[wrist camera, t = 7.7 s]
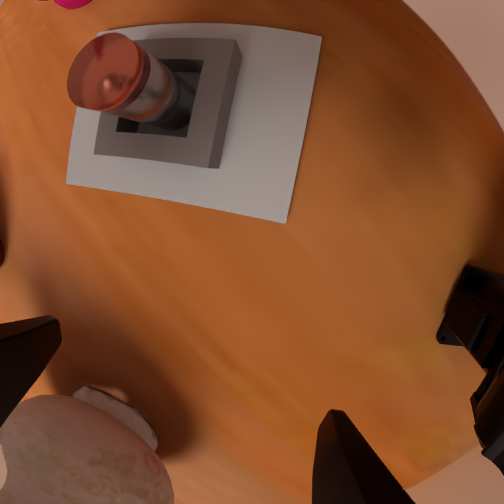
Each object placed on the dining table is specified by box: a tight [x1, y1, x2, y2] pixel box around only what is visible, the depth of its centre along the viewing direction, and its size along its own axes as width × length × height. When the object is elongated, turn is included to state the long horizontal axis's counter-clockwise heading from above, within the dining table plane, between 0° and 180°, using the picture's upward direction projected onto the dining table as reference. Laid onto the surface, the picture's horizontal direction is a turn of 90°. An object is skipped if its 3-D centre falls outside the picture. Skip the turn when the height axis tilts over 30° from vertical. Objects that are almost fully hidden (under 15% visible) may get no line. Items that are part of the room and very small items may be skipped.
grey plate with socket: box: [66, 23, 322, 224], centre depth 15 cm, size 16×12×4 cm
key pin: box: [67, 32, 196, 130], centre depth 12 cm, size 3×3×8 cm
